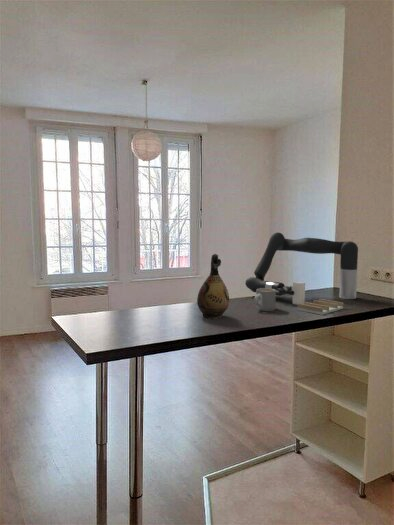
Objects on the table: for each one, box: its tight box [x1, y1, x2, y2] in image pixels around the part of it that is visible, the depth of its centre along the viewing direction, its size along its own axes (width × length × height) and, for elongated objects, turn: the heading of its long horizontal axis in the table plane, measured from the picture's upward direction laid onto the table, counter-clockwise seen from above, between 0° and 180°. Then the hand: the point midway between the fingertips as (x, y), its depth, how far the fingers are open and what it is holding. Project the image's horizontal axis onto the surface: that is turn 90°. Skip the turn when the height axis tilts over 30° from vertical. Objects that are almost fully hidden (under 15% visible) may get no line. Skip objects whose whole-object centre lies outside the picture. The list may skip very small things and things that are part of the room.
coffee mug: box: [253, 288, 277, 312], centre depth 208 cm, size 13×10×10 cm
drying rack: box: [297, 298, 344, 316], centre depth 208 cm, size 20×14×3 cm
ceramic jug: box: [196, 253, 230, 320], centre depth 192 cm, size 17×15×30 cm
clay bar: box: [292, 281, 306, 306], centre depth 220 cm, size 4×5×12 cm
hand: (298, 292), depth 220 cm, fingers open, 8 cm apart
